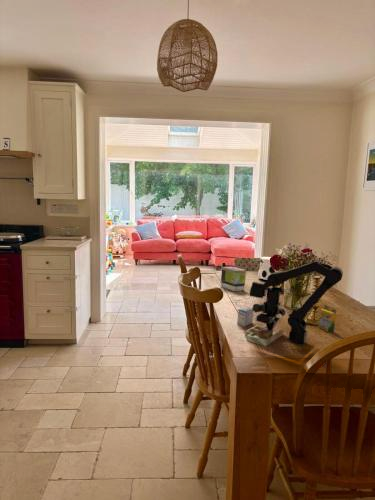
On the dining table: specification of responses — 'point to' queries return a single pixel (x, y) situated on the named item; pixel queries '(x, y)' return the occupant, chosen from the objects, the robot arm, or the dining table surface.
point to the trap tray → (257, 339)
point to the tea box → (233, 278)
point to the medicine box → (245, 316)
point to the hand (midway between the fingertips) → (269, 332)
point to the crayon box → (327, 318)
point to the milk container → (265, 268)
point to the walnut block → (265, 333)
